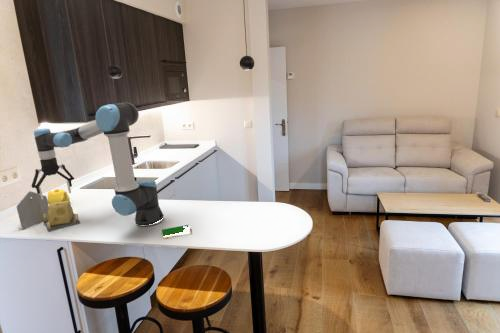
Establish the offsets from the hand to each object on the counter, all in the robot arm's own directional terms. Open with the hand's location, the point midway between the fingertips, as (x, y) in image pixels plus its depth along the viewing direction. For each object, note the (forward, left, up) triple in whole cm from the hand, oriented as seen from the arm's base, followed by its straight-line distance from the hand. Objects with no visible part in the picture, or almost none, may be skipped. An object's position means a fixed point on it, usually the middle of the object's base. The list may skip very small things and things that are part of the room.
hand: (56, 195), depth 186 cm
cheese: (0, 0, -15) cm, 15 cm away
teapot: (+33, -5, -17) cm, 37 cm away
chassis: (0, 0, -16) cm, 16 cm away
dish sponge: (-58, -42, -17) cm, 73 cm away
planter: (+13, +13, -17) cm, 24 cm away
